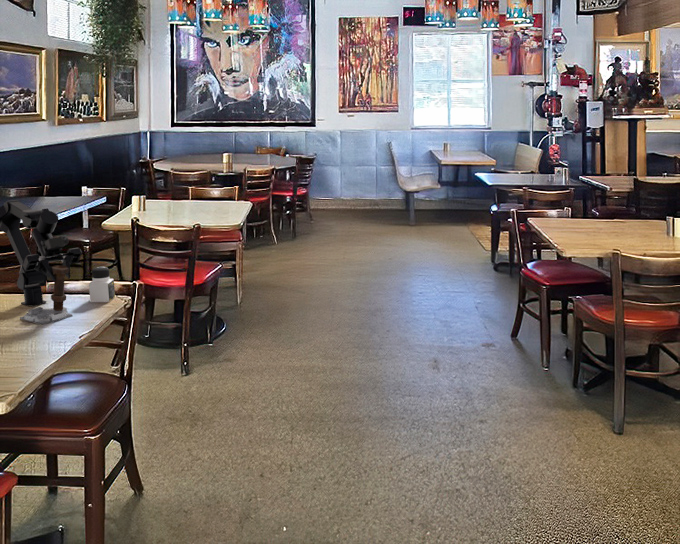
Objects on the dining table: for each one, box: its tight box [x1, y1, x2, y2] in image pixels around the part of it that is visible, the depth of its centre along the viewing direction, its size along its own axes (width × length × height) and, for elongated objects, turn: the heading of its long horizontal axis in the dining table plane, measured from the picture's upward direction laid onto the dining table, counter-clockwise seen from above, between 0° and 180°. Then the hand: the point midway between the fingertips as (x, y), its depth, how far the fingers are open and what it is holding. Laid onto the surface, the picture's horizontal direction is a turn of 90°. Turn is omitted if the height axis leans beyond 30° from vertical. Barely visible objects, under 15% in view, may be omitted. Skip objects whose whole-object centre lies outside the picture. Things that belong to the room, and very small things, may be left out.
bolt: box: [50, 264, 69, 311], centre depth 270 cm, size 6×5×15 cm
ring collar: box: [19, 306, 73, 326], centre depth 272 cm, size 13×13×2 cm
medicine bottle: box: [88, 266, 116, 303], centre depth 292 cm, size 7×7×12 cm
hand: (62, 279), depth 268 cm, fingers closed on bolt, 5 cm apart
